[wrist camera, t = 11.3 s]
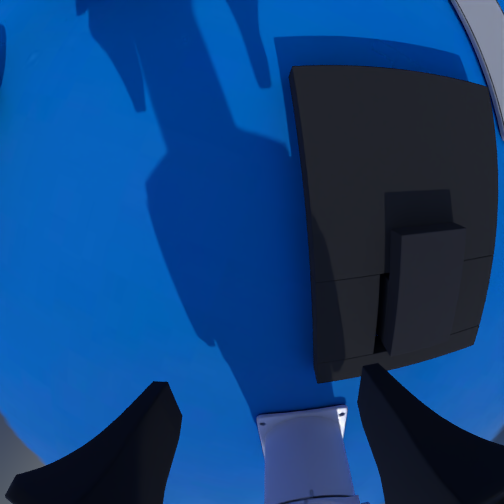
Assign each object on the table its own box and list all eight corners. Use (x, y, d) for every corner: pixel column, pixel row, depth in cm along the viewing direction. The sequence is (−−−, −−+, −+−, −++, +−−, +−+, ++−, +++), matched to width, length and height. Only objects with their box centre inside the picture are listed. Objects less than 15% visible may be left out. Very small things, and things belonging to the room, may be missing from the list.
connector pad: (427, 317, 19) (448, 341, 16) (373, 328, 19) (390, 357, 16) (437, 215, 16) (466, 227, 13) (377, 220, 17) (401, 235, 13)
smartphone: (506, 146, 14) (438, -25, 9) (501, 145, 14) (435, -22, 10) (545, 138, 13) (490, -11, 8) (541, 138, 13) (487, -9, 9)
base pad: (462, 333, 19) (473, 344, 17) (313, 366, 20) (317, 383, 18) (471, 90, 13) (488, 86, 11) (288, 76, 14) (291, 65, 12)
